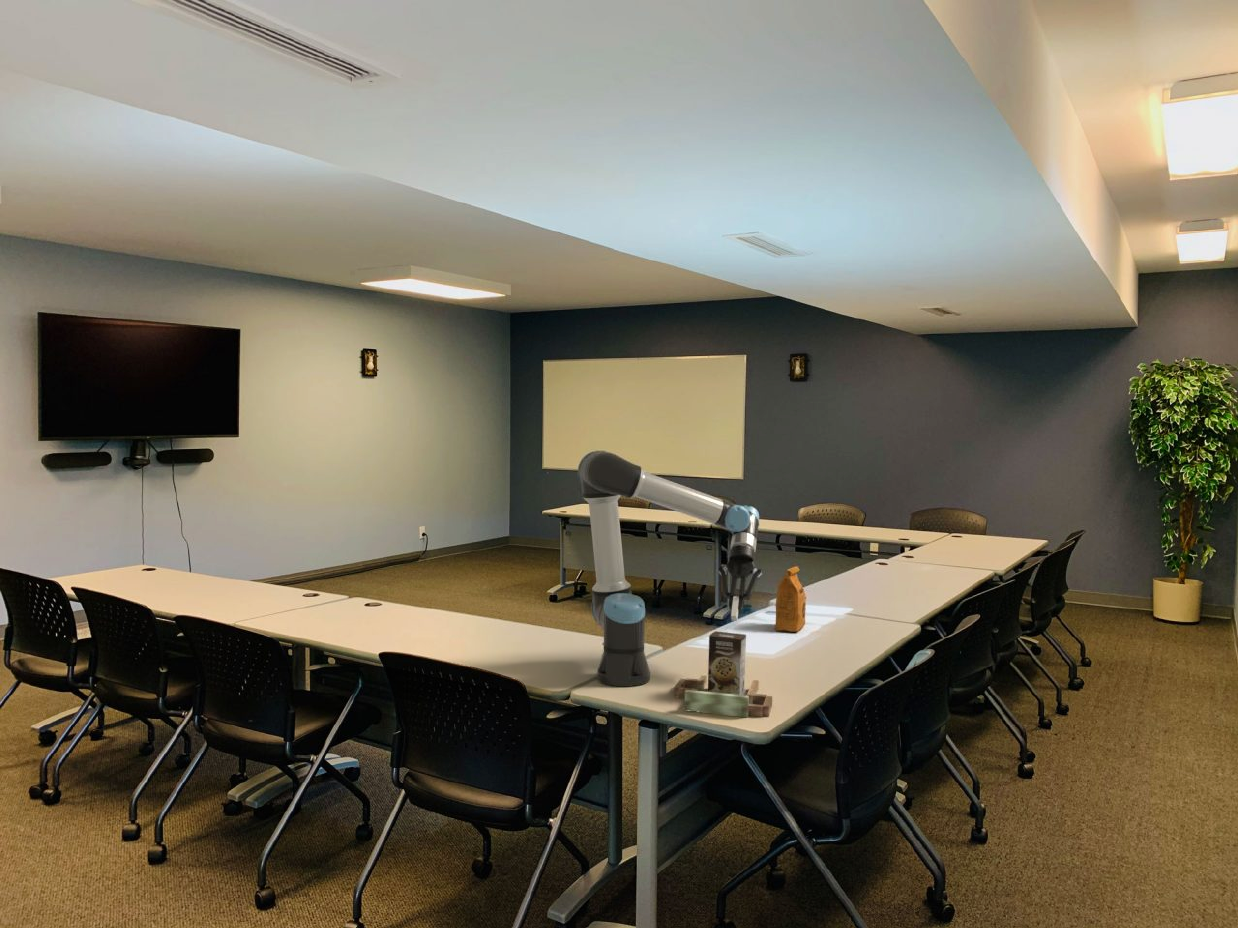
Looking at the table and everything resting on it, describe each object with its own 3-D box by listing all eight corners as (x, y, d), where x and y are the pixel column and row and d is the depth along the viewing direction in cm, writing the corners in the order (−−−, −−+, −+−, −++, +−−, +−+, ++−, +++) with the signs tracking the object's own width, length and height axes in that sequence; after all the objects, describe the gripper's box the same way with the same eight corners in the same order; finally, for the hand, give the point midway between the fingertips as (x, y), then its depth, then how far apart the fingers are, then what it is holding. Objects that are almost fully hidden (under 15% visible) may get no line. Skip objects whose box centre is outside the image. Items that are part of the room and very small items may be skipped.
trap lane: (665, 708, 222) (665, 689, 222) (683, 682, 245) (683, 664, 244) (767, 719, 215) (768, 699, 215) (776, 691, 238) (777, 673, 237)
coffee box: (706, 694, 234) (707, 635, 233) (712, 687, 240) (713, 630, 239) (740, 698, 231) (741, 639, 230) (745, 691, 237) (746, 633, 236)
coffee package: (809, 627, 311) (811, 566, 310) (798, 634, 301) (799, 571, 299) (783, 623, 316) (784, 564, 315) (771, 630, 306) (772, 569, 304)
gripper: (765, 559, 262) (758, 627, 247) (722, 557, 266) (712, 623, 250) (763, 544, 257) (756, 612, 242) (719, 542, 260) (709, 609, 245)
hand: (734, 618), depth 246 cm, fingers closed
